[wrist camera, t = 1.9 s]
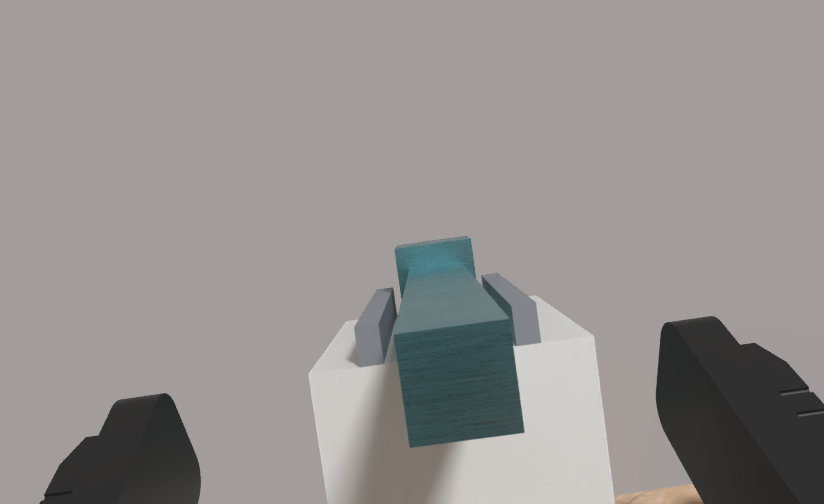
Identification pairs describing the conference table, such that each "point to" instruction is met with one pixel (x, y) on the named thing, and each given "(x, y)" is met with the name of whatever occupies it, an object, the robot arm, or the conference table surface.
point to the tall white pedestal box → (473, 459)
